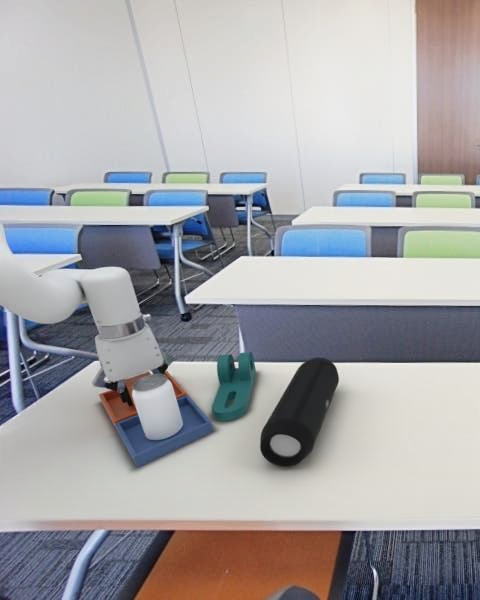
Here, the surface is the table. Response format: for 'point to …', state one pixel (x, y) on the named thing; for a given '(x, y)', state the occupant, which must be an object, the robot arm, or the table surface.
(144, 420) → the can
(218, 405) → the bracket
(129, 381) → the block
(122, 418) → the terracotta tray
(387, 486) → the table surface
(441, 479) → the table surface
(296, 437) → the portable speaker
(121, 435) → the blue tray
